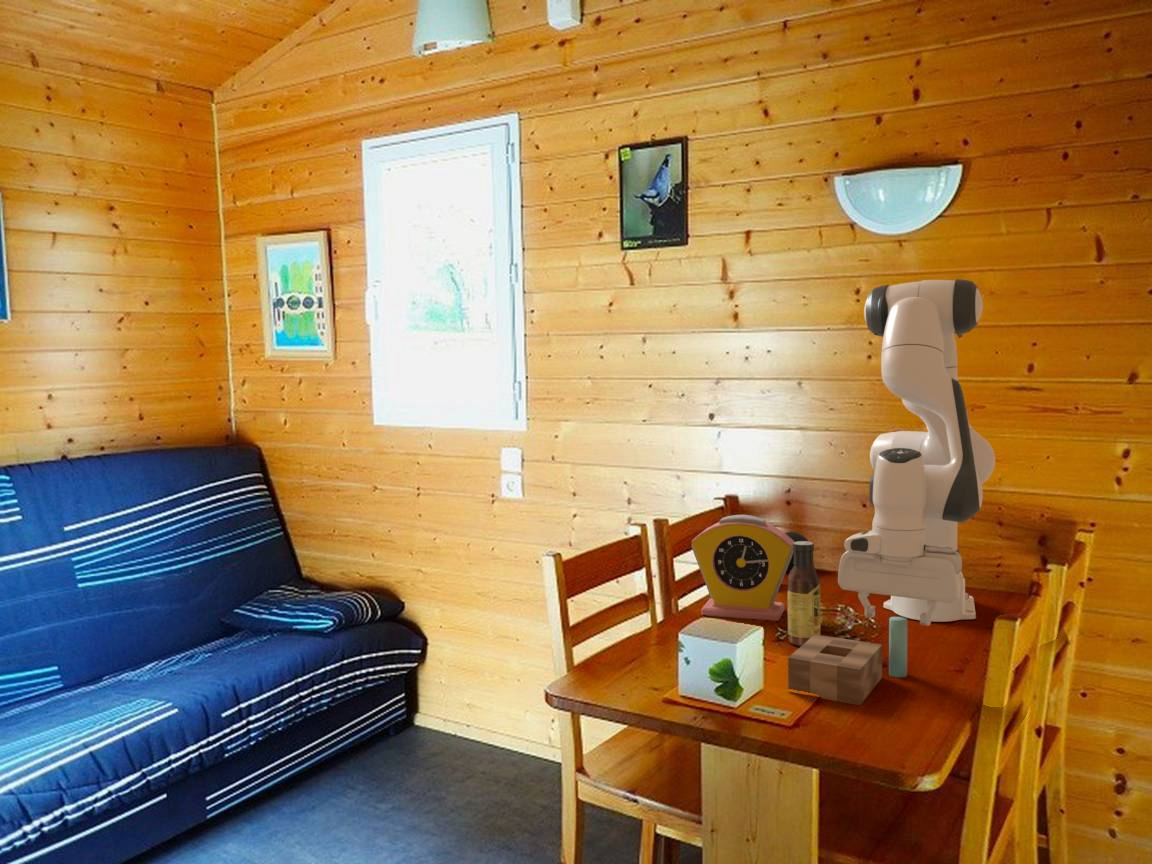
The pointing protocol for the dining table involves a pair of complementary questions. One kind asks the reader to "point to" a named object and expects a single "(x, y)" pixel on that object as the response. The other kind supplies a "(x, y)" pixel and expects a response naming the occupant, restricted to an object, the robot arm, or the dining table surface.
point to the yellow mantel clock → (743, 567)
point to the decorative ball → (795, 538)
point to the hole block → (836, 668)
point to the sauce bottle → (803, 595)
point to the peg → (898, 647)
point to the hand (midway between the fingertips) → (897, 620)
